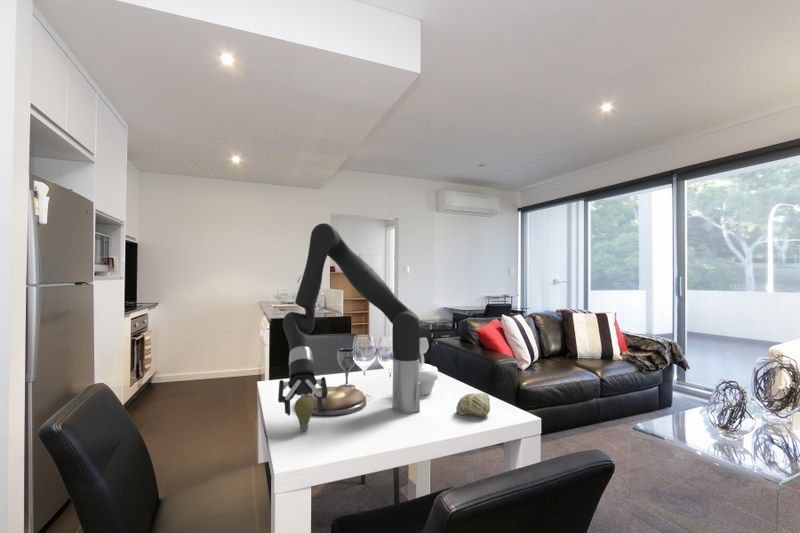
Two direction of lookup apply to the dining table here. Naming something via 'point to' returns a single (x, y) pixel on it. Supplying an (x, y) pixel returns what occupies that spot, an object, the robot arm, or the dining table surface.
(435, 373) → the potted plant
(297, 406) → the light bulb
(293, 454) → the dining table surface
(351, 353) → the wine glass
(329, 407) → the turntable platter
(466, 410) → the seashell
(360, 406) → the turntable base
